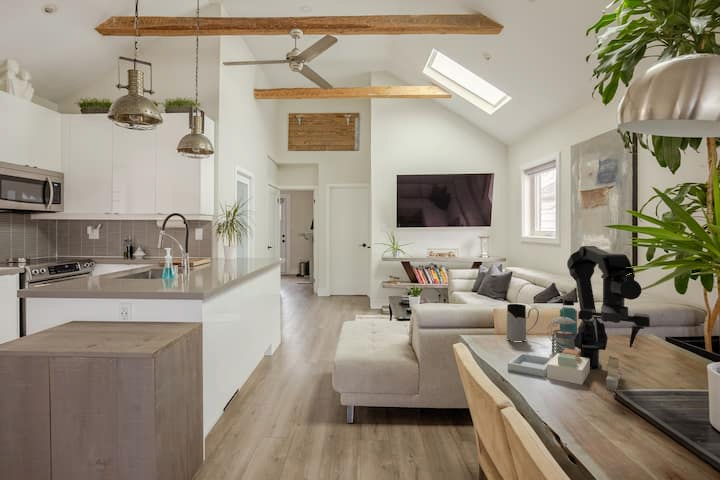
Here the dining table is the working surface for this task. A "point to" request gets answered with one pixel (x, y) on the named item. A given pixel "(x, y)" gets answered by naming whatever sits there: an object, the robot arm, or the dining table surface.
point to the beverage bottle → (570, 314)
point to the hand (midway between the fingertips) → (613, 344)
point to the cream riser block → (569, 370)
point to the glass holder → (517, 322)
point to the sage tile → (567, 360)
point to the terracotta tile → (572, 353)
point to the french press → (562, 334)
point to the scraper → (613, 373)
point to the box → (529, 364)
